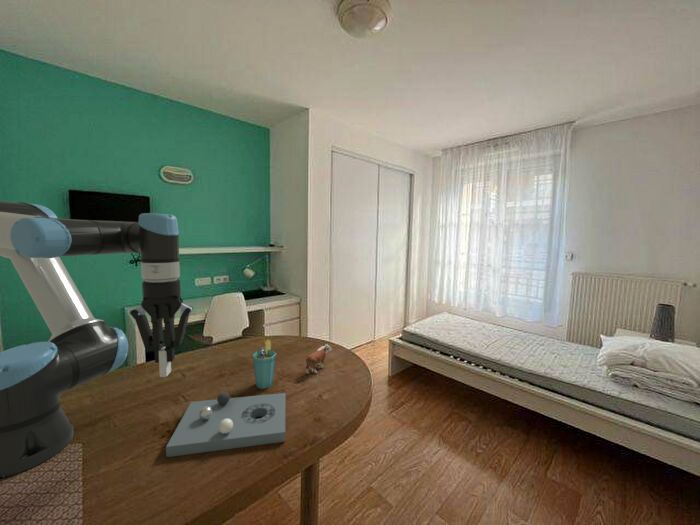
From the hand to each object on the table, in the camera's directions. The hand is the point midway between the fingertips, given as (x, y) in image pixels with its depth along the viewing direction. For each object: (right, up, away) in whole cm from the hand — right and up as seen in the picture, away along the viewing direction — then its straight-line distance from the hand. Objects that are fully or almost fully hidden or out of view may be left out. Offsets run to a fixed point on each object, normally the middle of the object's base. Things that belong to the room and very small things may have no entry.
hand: (165, 374), depth 68 cm
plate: (+15, -16, +5) cm, 22 cm away
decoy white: (+15, -12, -1) cm, 20 cm away
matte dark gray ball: (+10, -11, +10) cm, 18 cm away
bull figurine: (+33, -13, +37) cm, 51 cm away
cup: (+17, -14, +24) cm, 32 cm away
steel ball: (+8, -11, +3) cm, 14 cm away
